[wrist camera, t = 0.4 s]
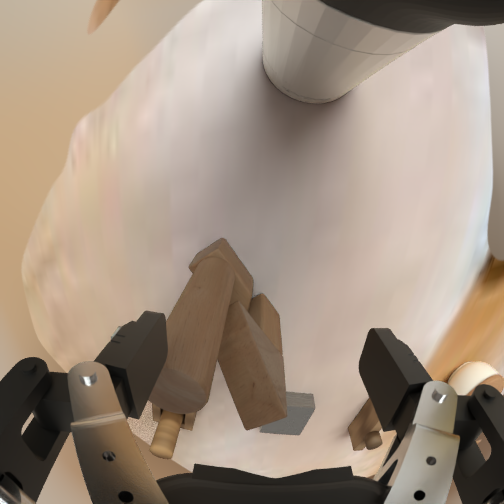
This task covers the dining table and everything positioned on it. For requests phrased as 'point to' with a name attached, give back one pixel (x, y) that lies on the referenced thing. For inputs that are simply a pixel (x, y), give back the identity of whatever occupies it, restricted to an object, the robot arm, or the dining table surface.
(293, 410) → the grey rectangular block
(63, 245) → the dining table surface
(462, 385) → the lidded jar
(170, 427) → the dowel
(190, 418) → the socket block
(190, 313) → the tan angled wooden part
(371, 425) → the block
